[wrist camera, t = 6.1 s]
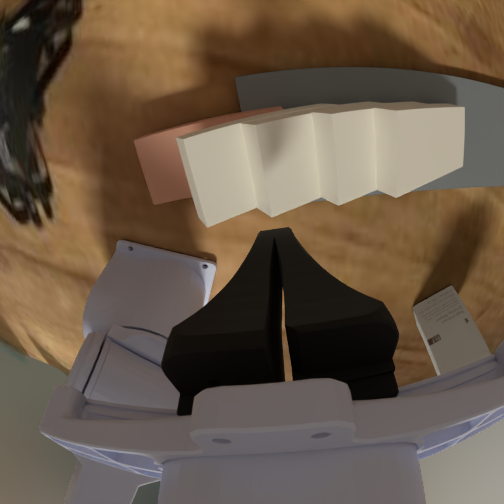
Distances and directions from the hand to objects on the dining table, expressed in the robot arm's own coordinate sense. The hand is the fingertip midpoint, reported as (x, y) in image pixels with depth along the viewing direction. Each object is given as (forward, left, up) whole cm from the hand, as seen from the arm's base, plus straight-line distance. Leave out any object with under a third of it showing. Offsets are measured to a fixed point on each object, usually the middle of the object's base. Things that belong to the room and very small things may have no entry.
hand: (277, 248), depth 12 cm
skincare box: (+24, -9, -10) cm, 28 cm away
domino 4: (+13, +9, -9) cm, 18 cm away
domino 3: (+10, +7, -9) cm, 15 cm away
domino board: (+10, +7, -10) cm, 16 cm away
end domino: (0, +3, -9) cm, 9 cm away
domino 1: (+3, +4, -9) cm, 10 cm away
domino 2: (+6, +6, -9) cm, 12 cm away
